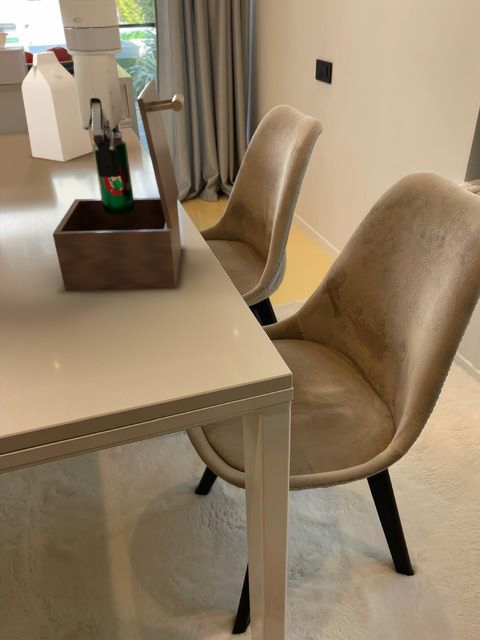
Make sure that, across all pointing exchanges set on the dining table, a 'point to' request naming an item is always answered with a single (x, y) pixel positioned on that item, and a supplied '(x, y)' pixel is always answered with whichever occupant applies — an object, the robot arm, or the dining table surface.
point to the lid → (160, 145)
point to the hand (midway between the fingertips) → (112, 169)
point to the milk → (53, 111)
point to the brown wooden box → (117, 247)
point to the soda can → (117, 182)
